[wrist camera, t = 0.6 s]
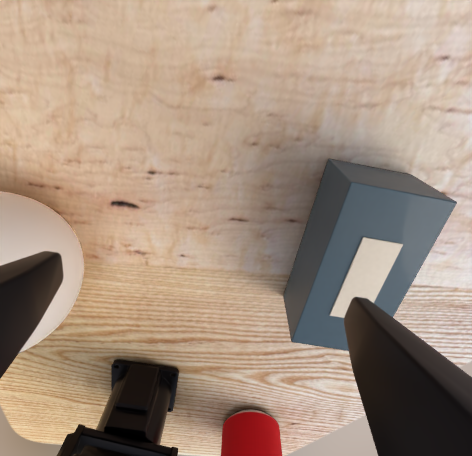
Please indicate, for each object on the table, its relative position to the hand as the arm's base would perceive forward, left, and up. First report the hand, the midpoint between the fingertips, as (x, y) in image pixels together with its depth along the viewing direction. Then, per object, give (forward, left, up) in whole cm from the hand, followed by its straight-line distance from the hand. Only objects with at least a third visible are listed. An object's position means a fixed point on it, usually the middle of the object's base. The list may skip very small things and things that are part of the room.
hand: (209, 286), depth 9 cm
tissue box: (-4, -10, -13) cm, 17 cm away
